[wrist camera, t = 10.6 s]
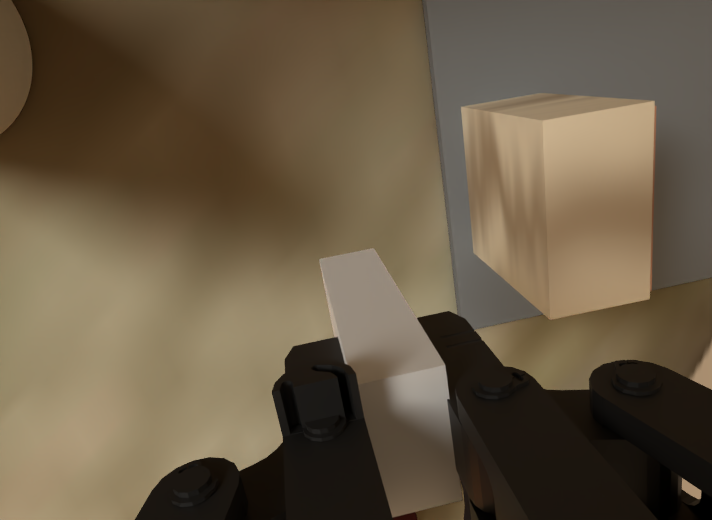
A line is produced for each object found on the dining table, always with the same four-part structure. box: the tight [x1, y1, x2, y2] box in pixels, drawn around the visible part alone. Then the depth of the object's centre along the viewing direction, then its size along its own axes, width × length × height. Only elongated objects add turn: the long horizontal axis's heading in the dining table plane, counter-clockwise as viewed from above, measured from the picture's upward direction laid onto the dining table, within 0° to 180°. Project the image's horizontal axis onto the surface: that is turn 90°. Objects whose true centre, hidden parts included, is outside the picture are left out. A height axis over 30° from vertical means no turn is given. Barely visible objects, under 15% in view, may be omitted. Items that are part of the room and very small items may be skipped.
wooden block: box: [461, 93, 656, 320], centre depth 23 cm, size 7×4×8 cm, turn 8°
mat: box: [422, 0, 712, 330], centre depth 27 cm, size 16×14×1 cm
